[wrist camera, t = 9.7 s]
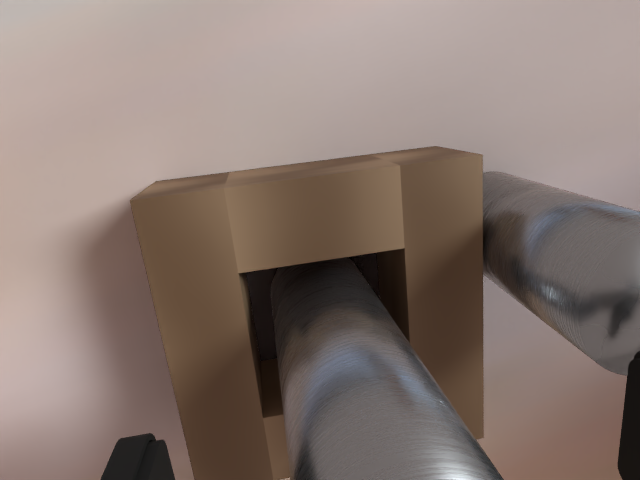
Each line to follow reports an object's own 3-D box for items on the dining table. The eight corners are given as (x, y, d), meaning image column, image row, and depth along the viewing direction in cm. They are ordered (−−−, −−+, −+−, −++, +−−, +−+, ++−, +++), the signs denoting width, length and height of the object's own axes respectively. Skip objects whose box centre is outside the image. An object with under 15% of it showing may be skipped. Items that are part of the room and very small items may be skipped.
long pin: (358, 240, 17) (579, 500, 6) (366, 325, 18) (565, 692, 7) (263, 254, 17) (294, 565, 5) (277, 340, 18) (326, 758, 6)
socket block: (435, 146, 16) (482, 154, 13) (443, 381, 19) (483, 437, 16) (155, 181, 15) (129, 200, 12) (207, 425, 18) (198, 495, 15)
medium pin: (533, 166, 17) (746, 214, 10) (530, 255, 18) (718, 362, 11) (441, 177, 17) (585, 237, 9) (443, 267, 18) (574, 387, 10)
